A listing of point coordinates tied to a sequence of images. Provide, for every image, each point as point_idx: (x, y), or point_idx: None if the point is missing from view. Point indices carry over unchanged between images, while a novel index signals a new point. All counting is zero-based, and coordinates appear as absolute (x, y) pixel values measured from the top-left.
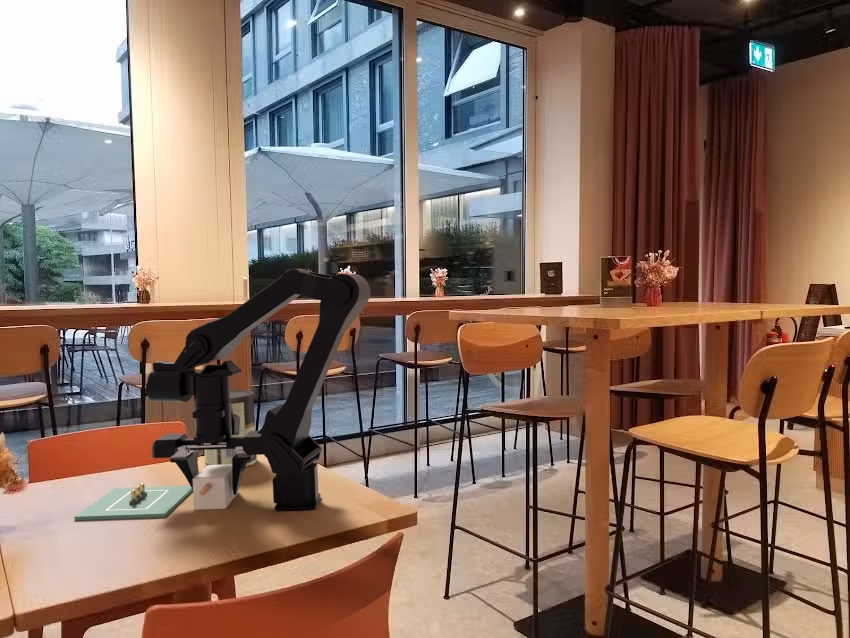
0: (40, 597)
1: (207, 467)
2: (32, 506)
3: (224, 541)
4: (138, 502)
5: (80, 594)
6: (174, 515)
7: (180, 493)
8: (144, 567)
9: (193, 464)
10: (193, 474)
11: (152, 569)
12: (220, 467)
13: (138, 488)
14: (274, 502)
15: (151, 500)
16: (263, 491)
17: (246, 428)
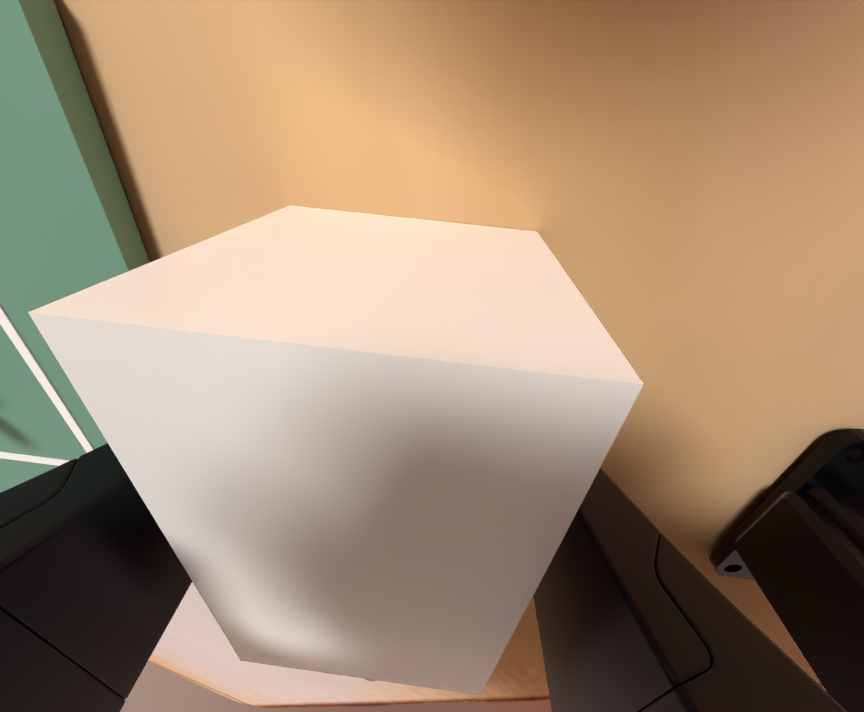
0: (248, 692)
1: (137, 442)
2: None
3: (506, 653)
4: None
5: (303, 699)
6: None
7: (79, 255)
8: (361, 678)
9: (36, 700)
10: (163, 597)
11: (380, 685)
12: (352, 484)
13: None
14: (737, 551)
15: (1, 358)
16: (761, 239)
17: None
